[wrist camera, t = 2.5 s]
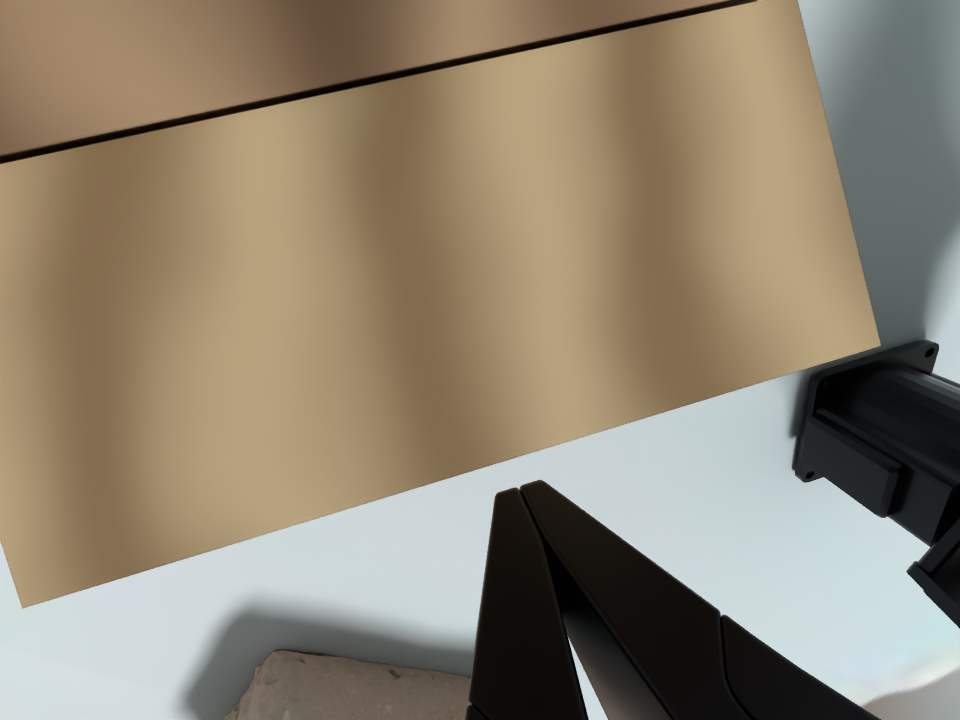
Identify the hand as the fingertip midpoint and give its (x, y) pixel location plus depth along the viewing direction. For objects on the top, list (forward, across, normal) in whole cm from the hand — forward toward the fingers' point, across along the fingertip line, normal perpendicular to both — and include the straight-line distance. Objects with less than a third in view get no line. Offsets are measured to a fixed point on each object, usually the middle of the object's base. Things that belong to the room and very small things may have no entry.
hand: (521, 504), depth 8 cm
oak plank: (+6, 0, -2) cm, 7 cm away
